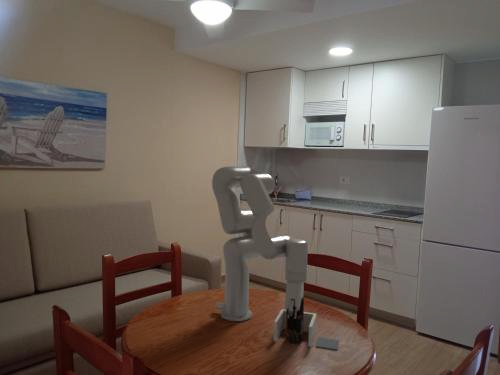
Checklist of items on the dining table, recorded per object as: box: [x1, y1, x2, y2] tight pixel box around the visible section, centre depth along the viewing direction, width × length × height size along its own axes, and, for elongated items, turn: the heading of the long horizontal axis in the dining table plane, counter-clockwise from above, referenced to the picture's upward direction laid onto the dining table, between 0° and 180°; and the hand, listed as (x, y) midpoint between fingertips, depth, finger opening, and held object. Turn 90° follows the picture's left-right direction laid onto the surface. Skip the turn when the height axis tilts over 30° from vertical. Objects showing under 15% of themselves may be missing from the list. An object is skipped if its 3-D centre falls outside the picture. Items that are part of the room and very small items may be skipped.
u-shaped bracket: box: [273, 308, 317, 348], centre depth 139 cm, size 13×12×7 cm
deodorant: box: [285, 296, 305, 345], centre depth 136 cm, size 6×6×15 cm
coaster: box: [315, 336, 340, 351], centre depth 134 cm, size 7×7×1 cm
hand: (294, 323), depth 136 cm, fingers open, 8 cm apart
